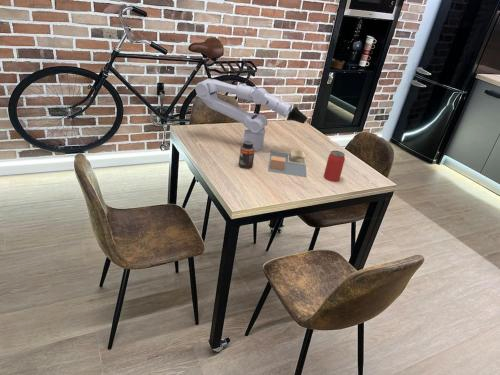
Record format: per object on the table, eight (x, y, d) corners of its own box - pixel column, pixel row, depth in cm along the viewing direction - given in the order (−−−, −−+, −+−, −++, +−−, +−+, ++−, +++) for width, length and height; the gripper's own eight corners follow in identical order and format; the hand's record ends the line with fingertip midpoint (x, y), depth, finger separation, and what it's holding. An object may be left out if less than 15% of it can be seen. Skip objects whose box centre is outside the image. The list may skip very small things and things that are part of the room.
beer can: (329, 184, 153) (336, 157, 147) (320, 176, 158) (326, 150, 152) (342, 182, 156) (349, 156, 150) (332, 175, 161) (339, 149, 155)
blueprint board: (267, 172, 155) (267, 170, 154) (270, 152, 173) (270, 150, 173) (306, 178, 154) (306, 176, 154) (304, 158, 173) (305, 156, 172)
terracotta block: (269, 168, 157) (270, 159, 155) (270, 164, 161) (271, 155, 159) (283, 170, 157) (285, 161, 155) (284, 166, 160) (285, 157, 158)
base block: (289, 161, 166) (291, 155, 164) (290, 155, 171) (291, 149, 169) (303, 163, 165) (304, 157, 164) (303, 158, 171) (304, 151, 169)
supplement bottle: (254, 166, 159) (257, 141, 153) (249, 171, 154) (253, 146, 148) (241, 162, 160) (244, 138, 155) (236, 168, 155) (239, 142, 150)
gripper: (279, 97, 154) (309, 113, 153) (284, 96, 167) (311, 111, 166) (271, 113, 156) (300, 128, 155) (277, 111, 170) (303, 125, 169)
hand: (305, 120), depth 161 cm, fingers open, 7 cm apart
